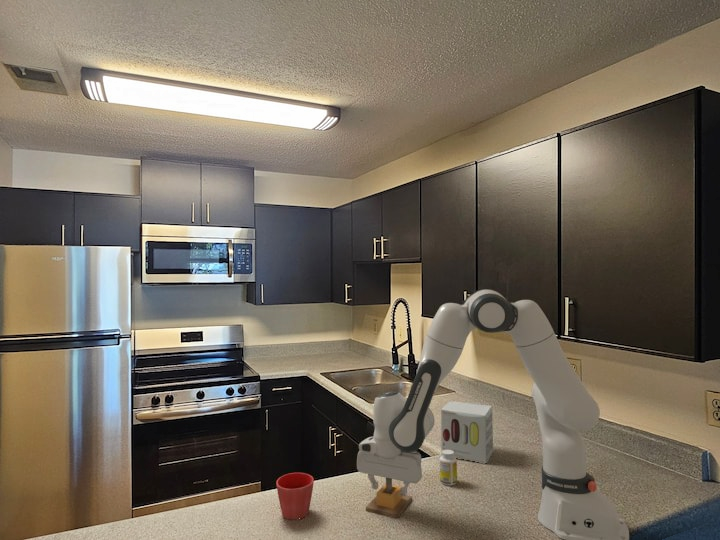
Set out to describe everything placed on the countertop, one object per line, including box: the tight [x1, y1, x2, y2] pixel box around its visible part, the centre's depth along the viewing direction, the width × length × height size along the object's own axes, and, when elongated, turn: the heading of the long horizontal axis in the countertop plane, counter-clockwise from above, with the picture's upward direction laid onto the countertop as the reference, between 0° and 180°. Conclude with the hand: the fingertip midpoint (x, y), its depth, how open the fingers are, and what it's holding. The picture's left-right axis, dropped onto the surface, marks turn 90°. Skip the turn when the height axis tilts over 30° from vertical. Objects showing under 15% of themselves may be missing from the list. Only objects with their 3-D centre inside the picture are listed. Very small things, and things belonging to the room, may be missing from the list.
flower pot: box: [275, 472, 315, 520], centre depth 135 cm, size 11×11×10 cm
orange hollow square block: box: [375, 483, 403, 509], centre depth 139 cm, size 5×7×4 cm
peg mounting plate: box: [365, 478, 413, 519], centre depth 139 cm, size 10×12×9 cm
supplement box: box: [440, 400, 494, 464], centre depth 176 cm, size 17×13×18 cm
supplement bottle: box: [439, 450, 458, 487], centre depth 153 cm, size 6×6×10 cm
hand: (389, 491), depth 139 cm, fingers open, 8 cm apart
